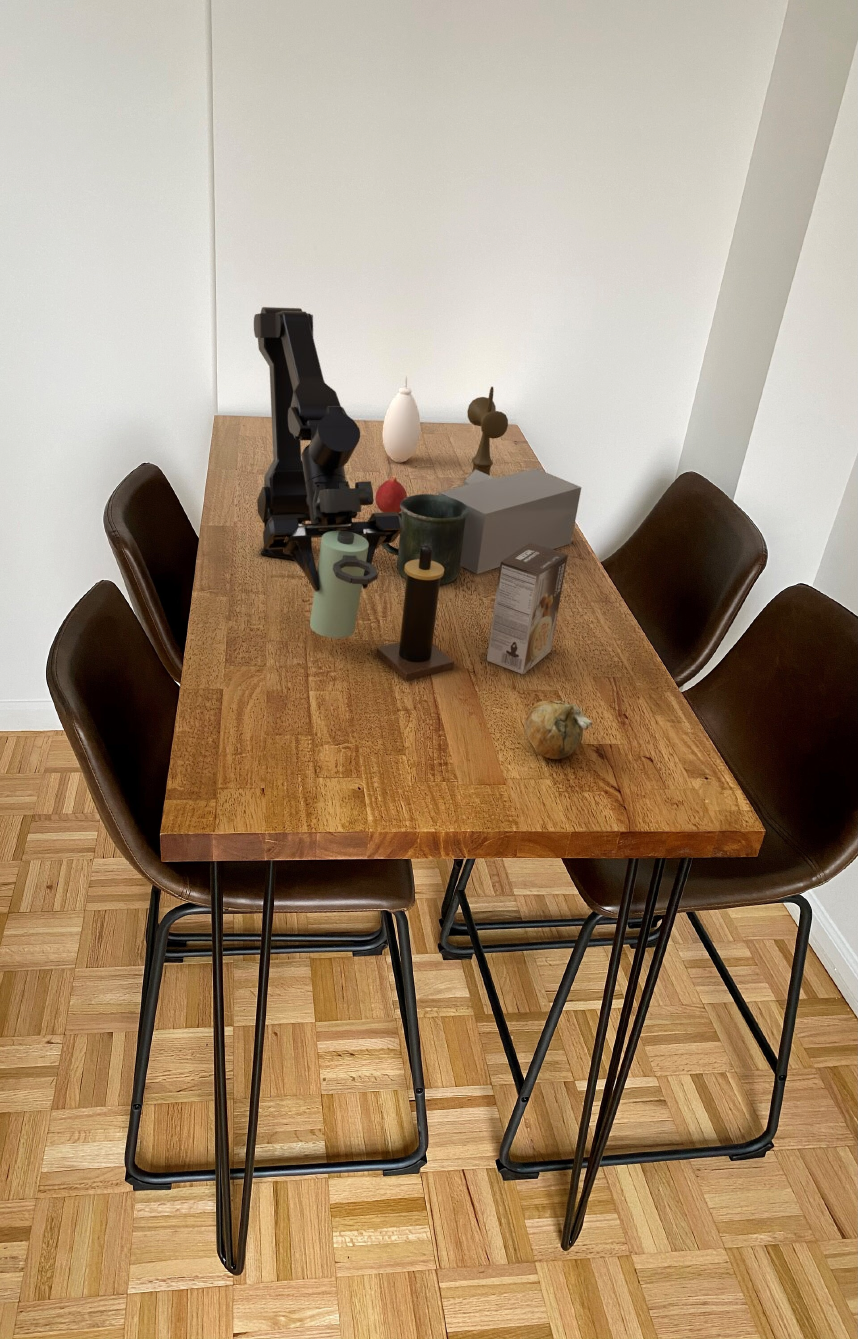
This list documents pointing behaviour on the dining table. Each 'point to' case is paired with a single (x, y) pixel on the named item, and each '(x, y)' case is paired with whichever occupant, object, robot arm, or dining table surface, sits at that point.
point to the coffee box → (526, 607)
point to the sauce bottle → (401, 426)
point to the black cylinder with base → (418, 622)
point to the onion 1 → (390, 496)
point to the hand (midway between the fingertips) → (341, 589)
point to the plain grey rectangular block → (514, 515)
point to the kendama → (486, 429)
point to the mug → (431, 532)
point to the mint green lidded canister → (340, 583)
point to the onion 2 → (555, 728)
